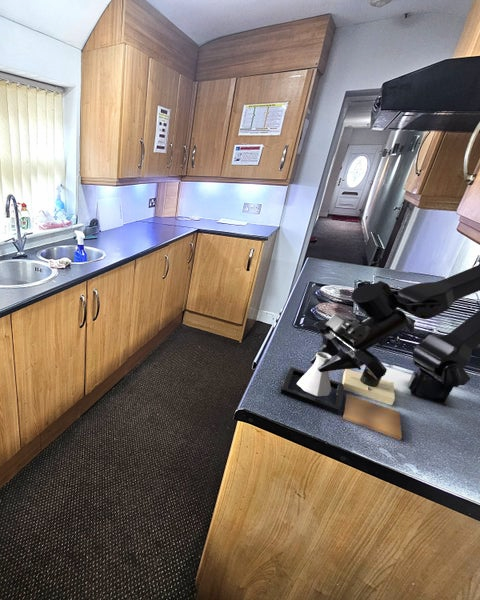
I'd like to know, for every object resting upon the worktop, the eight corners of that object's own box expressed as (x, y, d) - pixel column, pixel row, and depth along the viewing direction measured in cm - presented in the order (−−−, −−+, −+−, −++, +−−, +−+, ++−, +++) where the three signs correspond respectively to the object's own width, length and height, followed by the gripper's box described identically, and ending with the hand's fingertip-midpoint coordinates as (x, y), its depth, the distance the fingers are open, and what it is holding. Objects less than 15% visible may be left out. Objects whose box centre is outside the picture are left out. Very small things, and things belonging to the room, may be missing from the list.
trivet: (398, 414, 77) (399, 411, 77) (400, 440, 70) (401, 437, 70) (345, 396, 83) (346, 393, 83) (342, 418, 76) (343, 416, 76)
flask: (290, 383, 86) (300, 351, 82) (308, 376, 89) (318, 344, 85) (318, 400, 80) (330, 366, 76) (336, 392, 83) (349, 359, 79)
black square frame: (342, 388, 86) (344, 384, 85) (338, 415, 77) (340, 410, 76) (288, 370, 93) (289, 366, 92) (279, 393, 84) (281, 388, 84)
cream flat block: (390, 389, 86) (393, 382, 85) (391, 405, 80) (395, 398, 79) (343, 374, 91) (345, 368, 90) (341, 388, 86) (344, 382, 85)
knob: (360, 376, 87) (365, 363, 85) (377, 382, 85) (383, 368, 83) (359, 383, 85) (365, 369, 83) (377, 388, 82) (384, 375, 81)
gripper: (331, 291, 84) (277, 328, 89) (391, 325, 66) (320, 369, 71) (354, 318, 86) (300, 353, 91) (417, 358, 69) (346, 398, 74)
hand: (314, 366), depth 82 cm, fingers closed on flask, 3 cm apart
